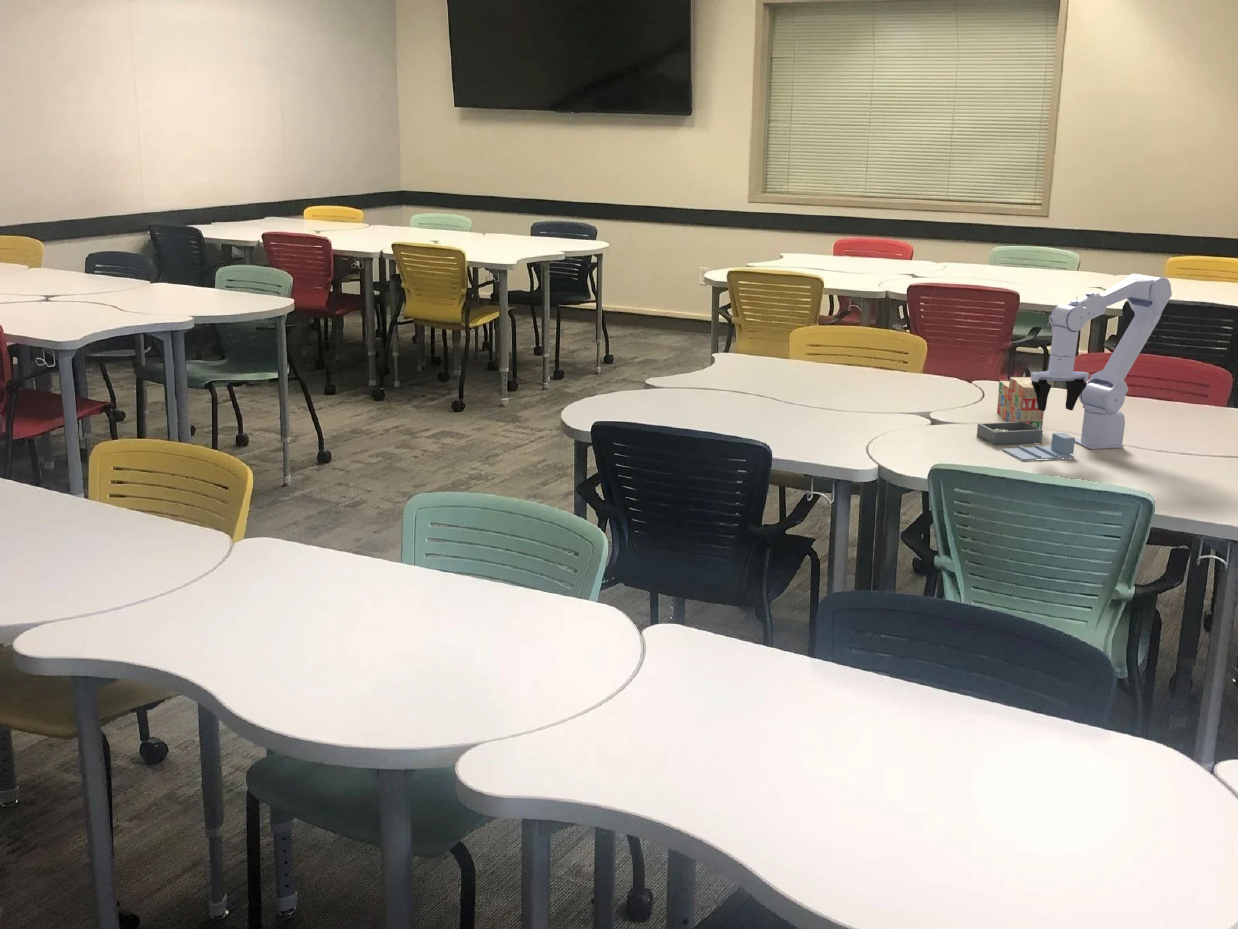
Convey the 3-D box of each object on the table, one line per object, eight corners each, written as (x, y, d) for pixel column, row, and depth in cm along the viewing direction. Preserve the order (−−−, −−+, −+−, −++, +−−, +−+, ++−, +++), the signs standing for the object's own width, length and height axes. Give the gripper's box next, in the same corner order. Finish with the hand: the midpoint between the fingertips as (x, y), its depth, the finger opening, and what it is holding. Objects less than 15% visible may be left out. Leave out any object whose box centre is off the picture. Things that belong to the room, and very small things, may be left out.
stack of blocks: (995, 413, 334) (1000, 369, 331) (1018, 413, 334) (1023, 370, 330) (1018, 432, 314) (1023, 386, 310) (1042, 432, 313) (1047, 386, 310)
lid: (1056, 449, 298) (1058, 430, 297) (1078, 460, 289) (1080, 440, 288) (1002, 452, 295) (1004, 433, 294) (1022, 463, 286) (1024, 443, 285)
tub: (1022, 434, 311) (1024, 421, 310) (1041, 443, 302) (1042, 430, 301) (976, 436, 308) (977, 423, 307) (993, 445, 300) (995, 432, 299)
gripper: (1079, 351, 295) (1072, 405, 298) (1026, 352, 291) (1020, 406, 295) (1096, 357, 288) (1089, 411, 292) (1042, 357, 285) (1035, 413, 288)
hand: (1055, 409), depth 293 cm, fingers open, 7 cm apart
